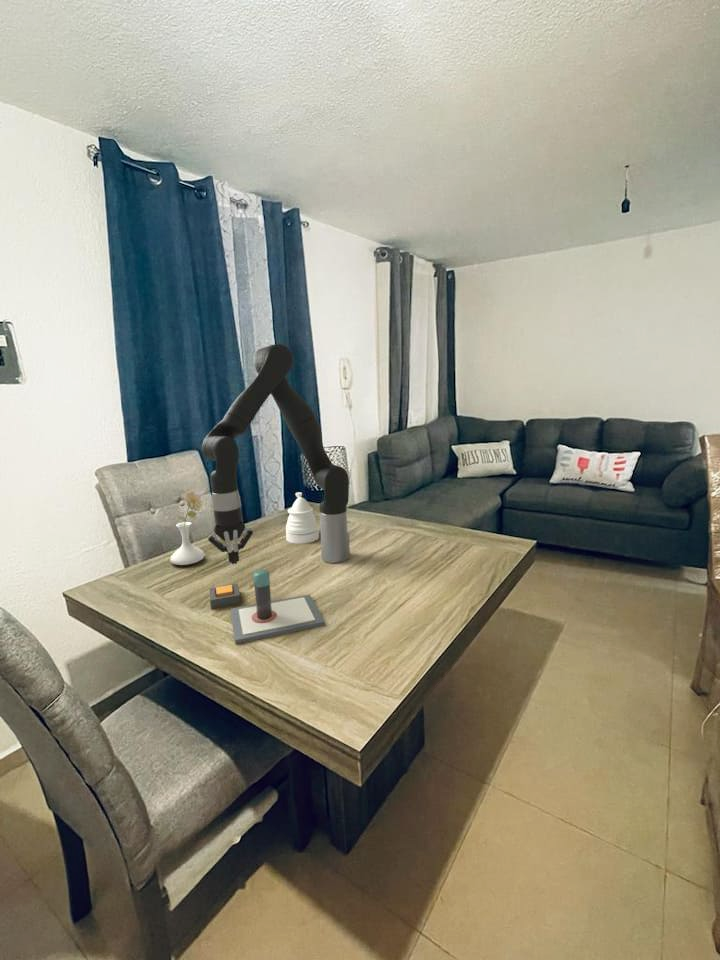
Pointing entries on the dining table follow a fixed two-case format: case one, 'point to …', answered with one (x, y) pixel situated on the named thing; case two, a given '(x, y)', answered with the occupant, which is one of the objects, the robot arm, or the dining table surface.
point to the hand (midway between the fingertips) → (234, 562)
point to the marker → (262, 594)
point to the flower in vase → (187, 550)
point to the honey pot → (301, 522)
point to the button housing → (225, 597)
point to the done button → (224, 590)
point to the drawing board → (275, 619)
